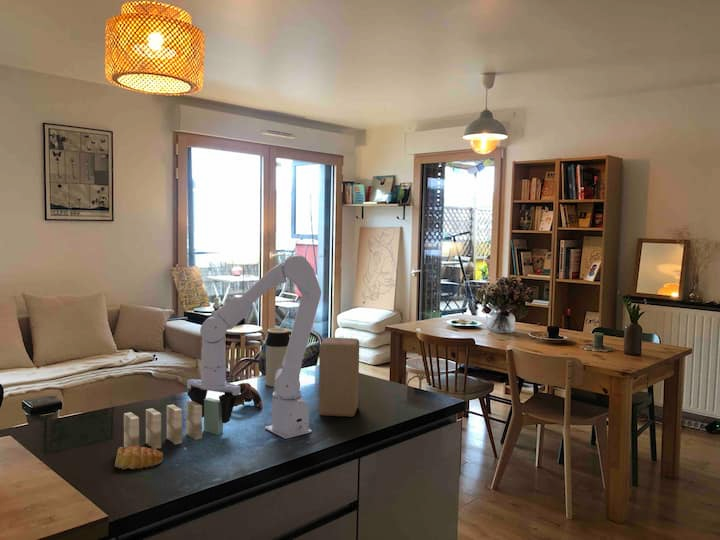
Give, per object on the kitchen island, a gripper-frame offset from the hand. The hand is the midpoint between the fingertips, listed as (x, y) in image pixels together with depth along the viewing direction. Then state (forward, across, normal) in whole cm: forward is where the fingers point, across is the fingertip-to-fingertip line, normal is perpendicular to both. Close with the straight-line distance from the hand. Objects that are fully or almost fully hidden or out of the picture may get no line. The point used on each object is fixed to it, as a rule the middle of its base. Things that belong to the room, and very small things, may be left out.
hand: (213, 419), depth 145 cm
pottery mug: (+3, +4, -20) cm, 20 cm away
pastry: (+3, +3, +23) cm, 23 cm away
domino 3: (+3, +4, +9) cm, 10 cm away
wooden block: (+3, -21, -29) cm, 36 cm away
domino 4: (+3, +2, +4) cm, 6 cm away
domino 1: (+3, +9, +18) cm, 20 cm away
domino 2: (+3, +7, +13) cm, 15 cm away
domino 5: (+3, 0, 0) cm, 3 cm away
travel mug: (+3, +9, -46) cm, 47 cm away
